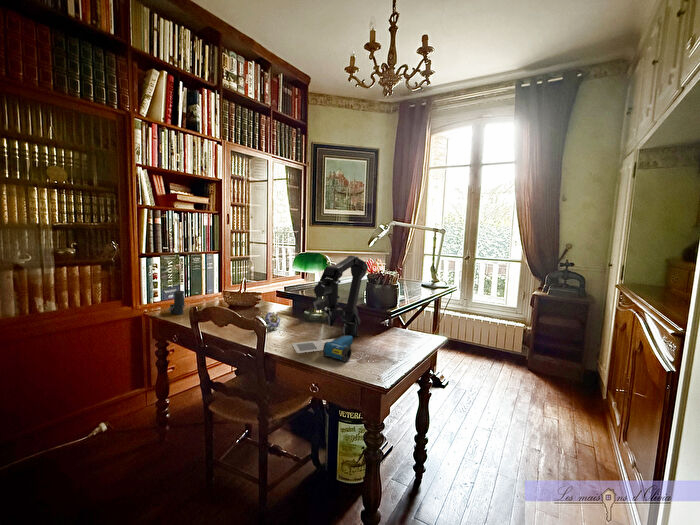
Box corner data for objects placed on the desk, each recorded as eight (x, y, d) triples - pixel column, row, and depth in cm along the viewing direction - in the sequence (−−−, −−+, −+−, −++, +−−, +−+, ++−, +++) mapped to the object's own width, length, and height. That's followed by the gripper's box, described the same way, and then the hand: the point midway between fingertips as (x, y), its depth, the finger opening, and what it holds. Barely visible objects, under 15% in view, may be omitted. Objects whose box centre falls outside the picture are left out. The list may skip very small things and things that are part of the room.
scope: (179, 289, 197) (189, 291, 192) (180, 310, 198) (190, 313, 194) (166, 291, 190) (176, 293, 185) (167, 313, 191) (177, 316, 187)
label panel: (338, 338, 161) (338, 338, 161) (347, 347, 150) (347, 346, 150) (291, 343, 151) (291, 343, 151) (297, 353, 140) (297, 353, 140)
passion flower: (274, 340, 170) (269, 326, 162) (258, 332, 174) (252, 319, 166) (287, 324, 177) (282, 310, 169) (271, 317, 181) (266, 304, 173)
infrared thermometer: (365, 350, 149) (344, 364, 131) (341, 344, 155) (318, 356, 137) (366, 337, 148) (345, 349, 131) (342, 331, 154) (318, 342, 137)
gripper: (309, 290, 153) (309, 321, 155) (321, 298, 136) (320, 334, 138) (331, 289, 157) (330, 319, 159) (345, 297, 140) (344, 331, 142)
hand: (330, 325), depth 149 cm, fingers closed
